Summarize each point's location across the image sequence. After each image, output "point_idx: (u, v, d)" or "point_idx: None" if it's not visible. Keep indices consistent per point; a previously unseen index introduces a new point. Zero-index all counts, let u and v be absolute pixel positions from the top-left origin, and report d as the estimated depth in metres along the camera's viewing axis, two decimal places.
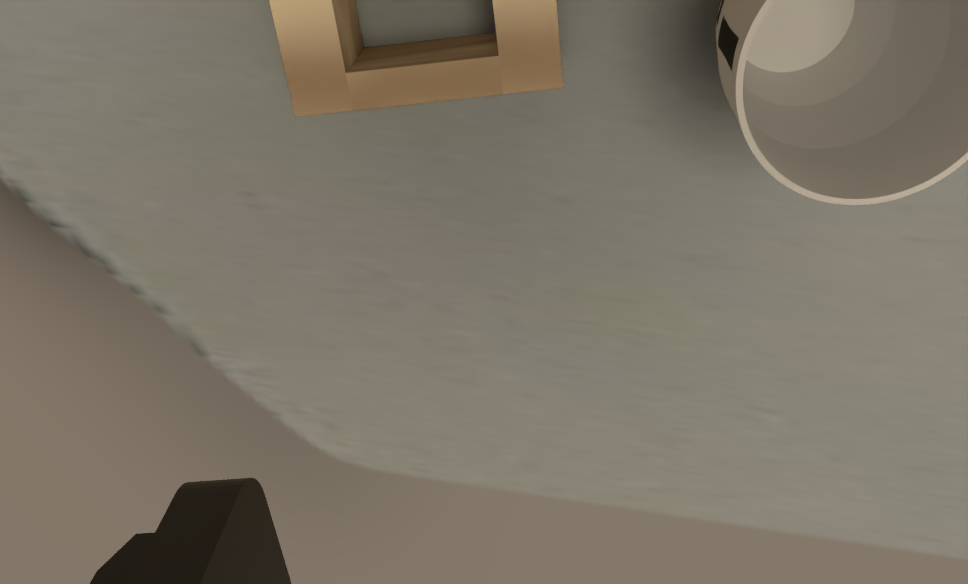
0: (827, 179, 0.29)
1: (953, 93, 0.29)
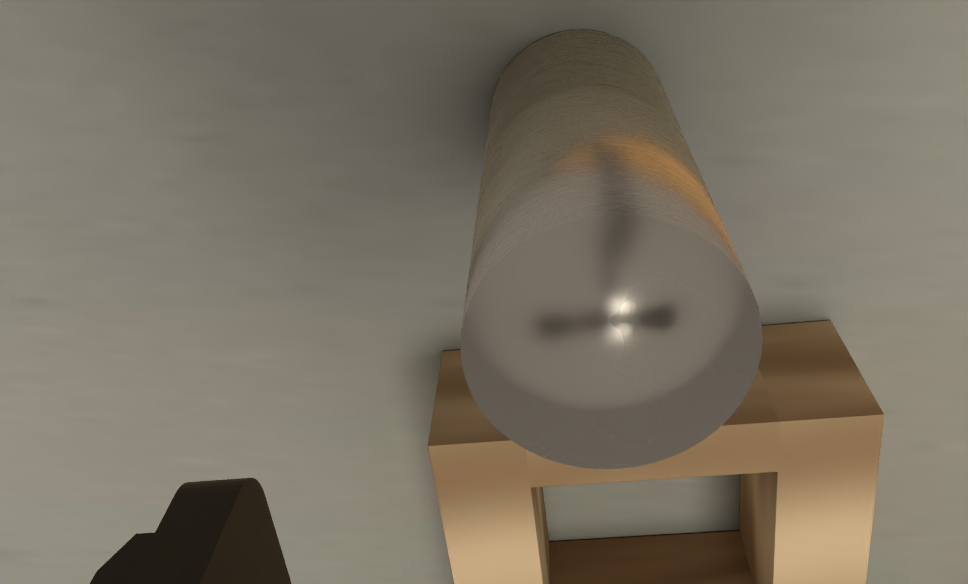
0: None
1: None
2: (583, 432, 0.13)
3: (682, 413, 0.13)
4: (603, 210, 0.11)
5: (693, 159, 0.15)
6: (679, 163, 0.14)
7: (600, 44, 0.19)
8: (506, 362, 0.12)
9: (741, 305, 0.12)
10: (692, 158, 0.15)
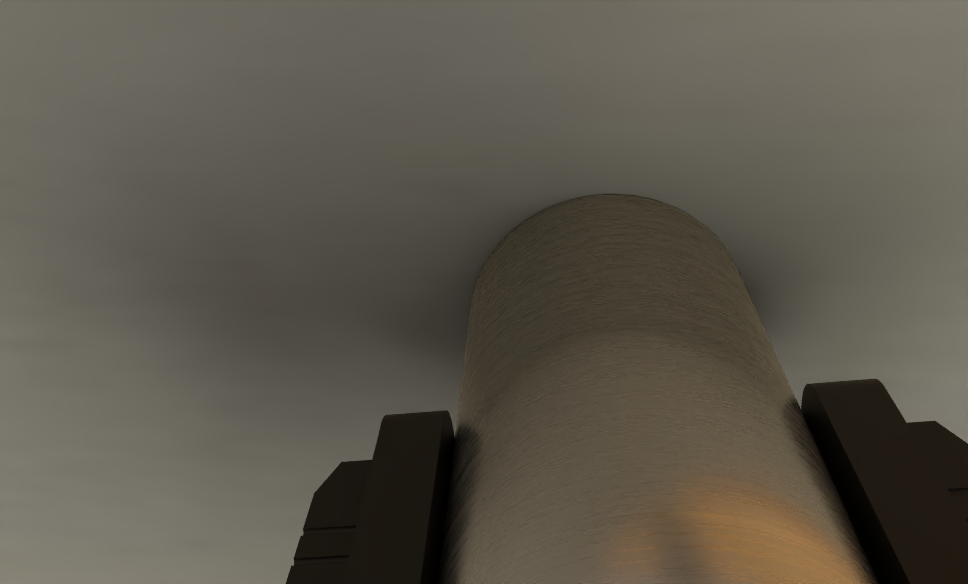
0: None
1: None
2: None
3: None
4: None
5: (856, 533, 0.08)
6: None
7: (650, 233, 0.11)
8: None
9: None
10: (858, 541, 0.08)
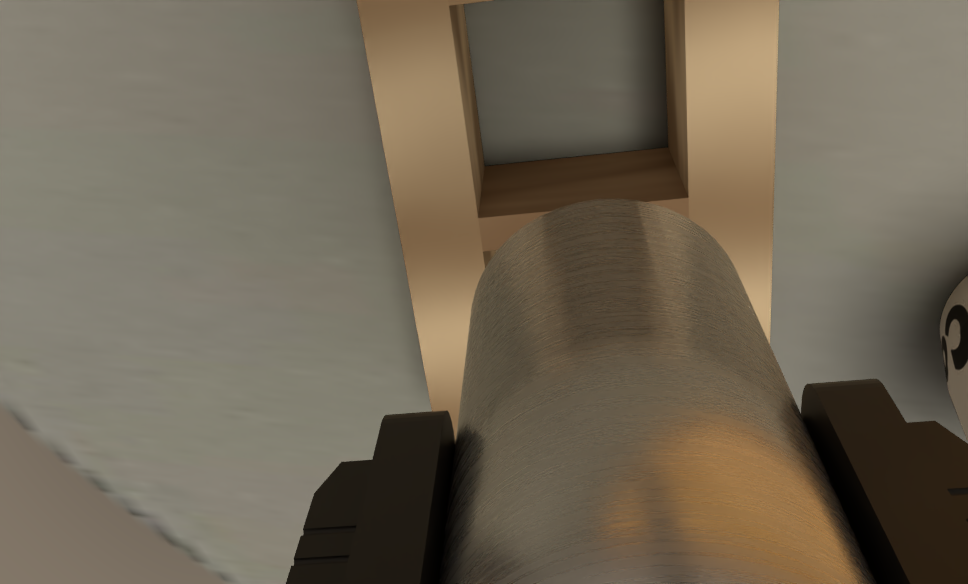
0: None
1: None
2: None
3: None
4: None
5: (856, 539, 0.08)
6: None
7: (650, 238, 0.11)
8: None
9: None
10: (858, 547, 0.08)
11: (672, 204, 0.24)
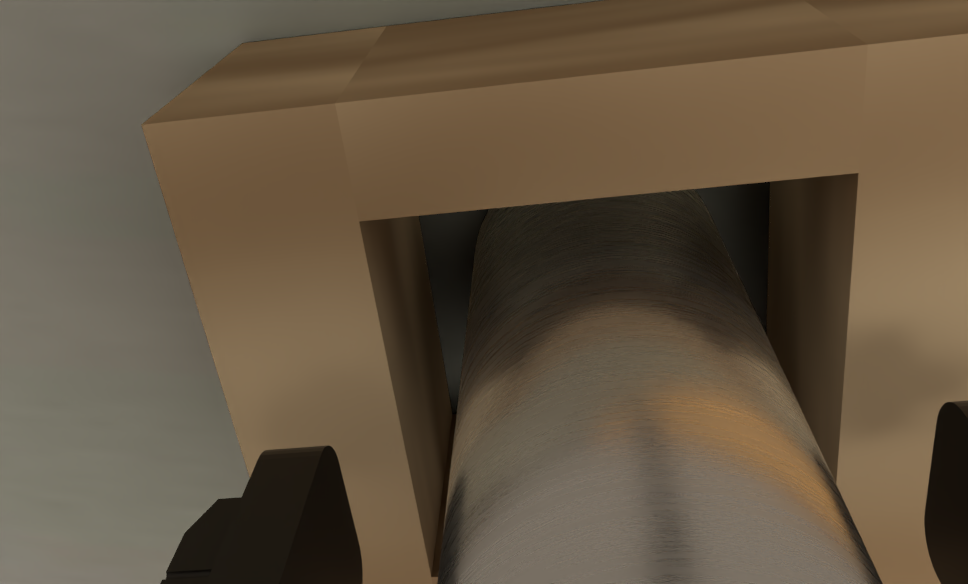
0: None
1: None
2: None
3: None
4: None
5: (796, 400, 0.10)
6: (795, 455, 0.08)
7: None
8: None
9: None
10: (796, 403, 0.09)
11: None
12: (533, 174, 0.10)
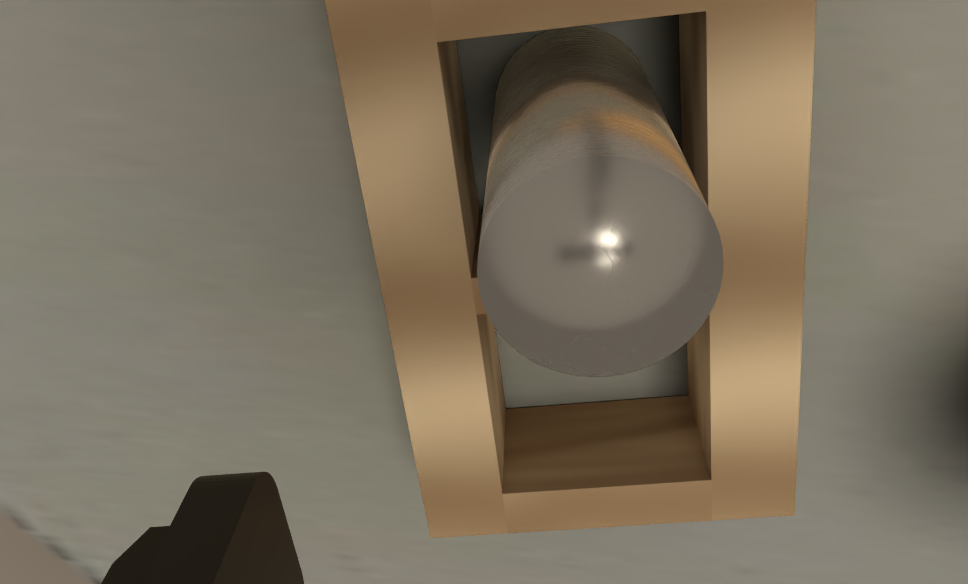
0: None
1: None
2: (578, 344, 0.15)
3: (660, 326, 0.15)
4: (593, 154, 0.14)
5: (670, 128, 0.18)
6: (657, 126, 0.17)
7: (591, 37, 0.22)
8: (514, 282, 0.15)
9: (705, 232, 0.14)
10: (669, 127, 0.18)
11: None
12: (532, 13, 0.19)
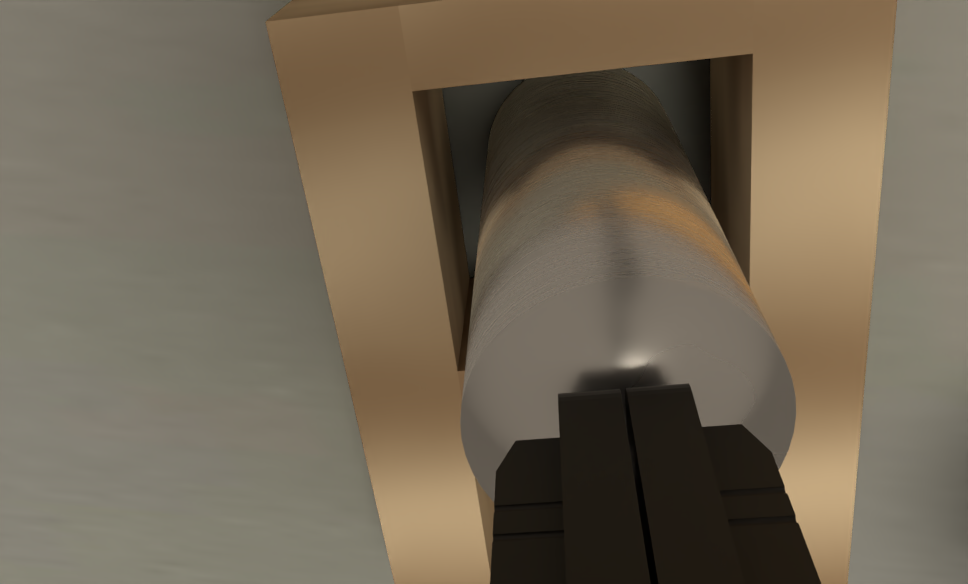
0: None
1: None
2: None
3: None
4: (620, 274, 0.10)
5: (709, 204, 0.14)
6: (698, 212, 0.13)
7: (605, 77, 0.18)
8: (511, 438, 0.11)
9: (773, 376, 0.10)
10: (709, 203, 0.14)
11: None
12: (532, 55, 0.15)
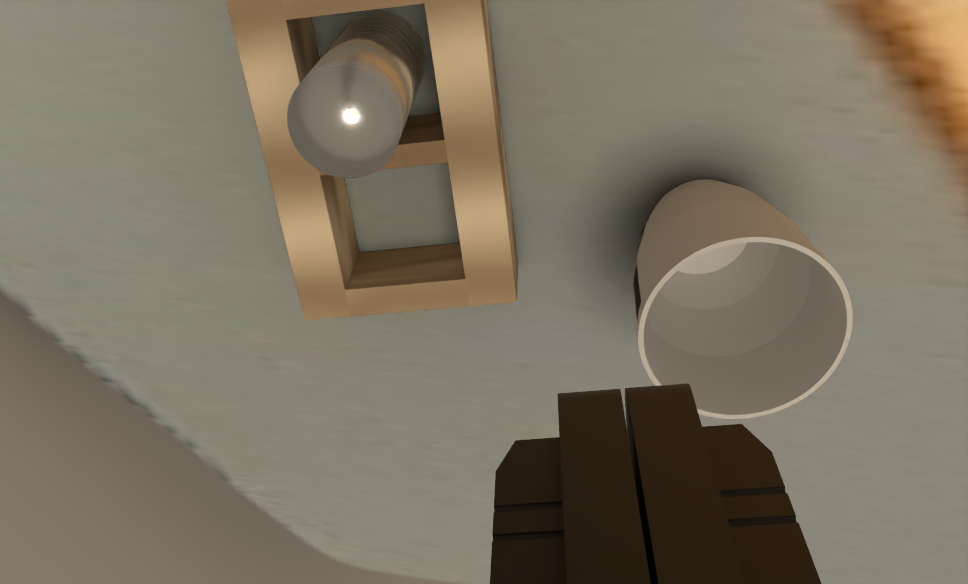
0: (715, 393, 0.38)
1: (811, 328, 0.38)
2: (338, 160, 0.32)
3: (375, 151, 0.32)
4: (336, 65, 0.31)
5: (405, 64, 0.35)
6: (386, 59, 0.34)
7: (383, 18, 0.39)
8: (304, 128, 0.32)
9: (390, 103, 0.31)
10: (403, 63, 0.35)
11: (435, 144, 0.38)
12: (334, 4, 0.36)
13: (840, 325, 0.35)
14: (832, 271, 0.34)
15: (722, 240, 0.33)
